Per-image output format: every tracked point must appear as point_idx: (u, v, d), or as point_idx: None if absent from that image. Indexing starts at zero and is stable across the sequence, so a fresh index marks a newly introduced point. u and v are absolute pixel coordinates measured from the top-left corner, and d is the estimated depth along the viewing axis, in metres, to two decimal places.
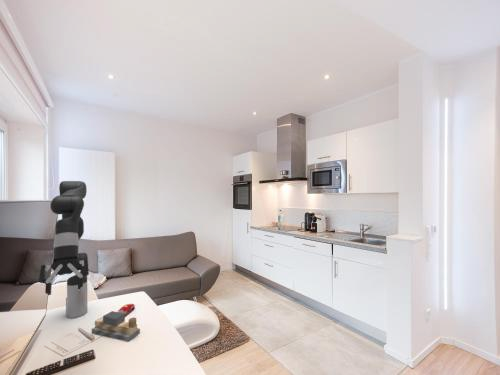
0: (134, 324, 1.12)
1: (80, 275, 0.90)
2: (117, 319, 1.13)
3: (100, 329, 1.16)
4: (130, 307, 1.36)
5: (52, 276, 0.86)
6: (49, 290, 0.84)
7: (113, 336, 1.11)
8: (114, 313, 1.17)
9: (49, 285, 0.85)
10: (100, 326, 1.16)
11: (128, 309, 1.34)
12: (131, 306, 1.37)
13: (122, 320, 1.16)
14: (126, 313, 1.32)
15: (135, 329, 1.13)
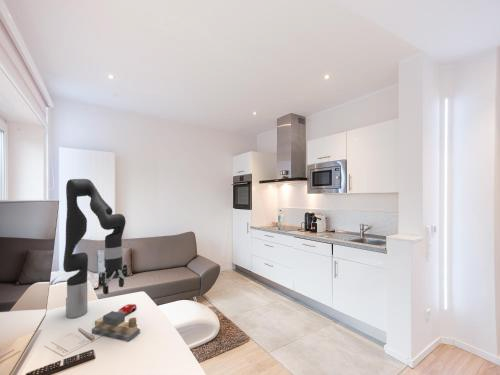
0: (134, 324, 1.12)
1: (123, 277, 1.20)
2: (117, 319, 1.13)
3: (100, 329, 1.16)
4: (130, 308, 1.35)
5: (109, 280, 1.13)
6: (107, 290, 1.12)
7: (113, 336, 1.11)
8: (114, 313, 1.17)
9: (107, 287, 1.12)
10: (100, 326, 1.16)
11: (128, 310, 1.33)
12: (132, 307, 1.36)
13: (122, 320, 1.16)
14: (125, 314, 1.31)
15: (135, 329, 1.13)
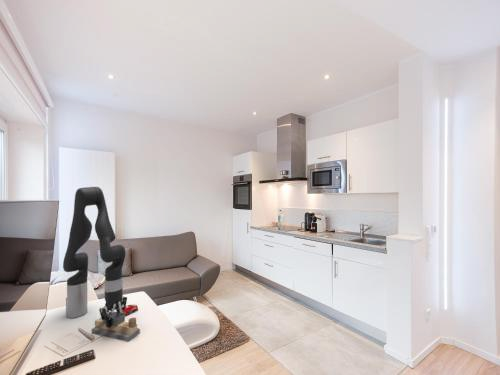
0: (134, 324, 1.12)
1: (121, 311, 1.19)
2: (117, 319, 1.13)
3: (100, 329, 1.16)
4: (130, 309, 1.34)
5: (111, 313, 1.13)
6: (110, 324, 1.13)
7: (113, 336, 1.11)
8: (114, 313, 1.17)
9: (110, 320, 1.13)
10: (100, 326, 1.16)
11: (127, 310, 1.33)
12: (132, 307, 1.35)
13: (122, 320, 1.16)
14: None
15: (135, 329, 1.13)
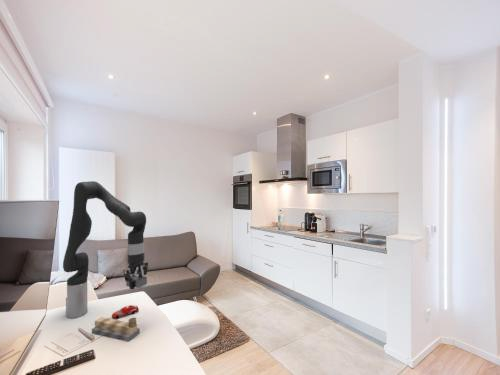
0: (134, 324, 1.12)
1: (143, 275, 1.23)
2: (140, 281, 1.18)
3: (100, 329, 1.16)
4: (129, 310, 1.33)
5: (134, 276, 1.18)
6: (133, 286, 1.18)
7: (113, 336, 1.11)
8: (136, 277, 1.22)
9: None
10: (100, 326, 1.16)
11: (126, 311, 1.32)
12: (132, 309, 1.34)
13: (144, 283, 1.20)
14: (122, 315, 1.30)
15: (135, 329, 1.13)
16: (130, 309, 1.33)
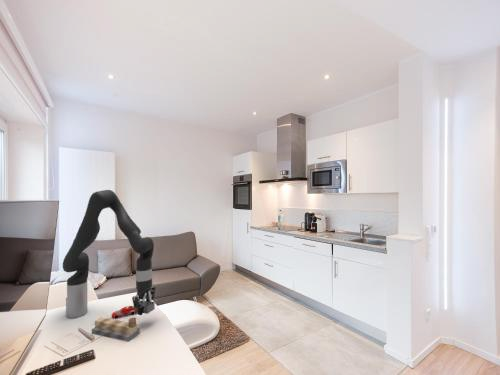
0: (134, 324, 1.12)
1: (150, 300, 1.25)
2: (148, 307, 1.20)
3: (100, 329, 1.16)
4: (128, 310, 1.32)
5: (143, 302, 1.20)
6: (142, 312, 1.20)
7: (113, 336, 1.11)
8: (144, 302, 1.24)
9: (142, 308, 1.20)
10: (100, 326, 1.16)
11: (125, 311, 1.31)
12: (131, 310, 1.33)
13: (152, 308, 1.22)
14: (121, 315, 1.30)
15: (135, 329, 1.13)
16: (129, 310, 1.32)
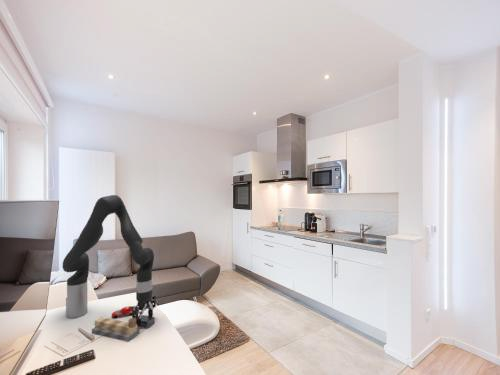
0: (134, 324, 1.12)
1: (152, 308, 1.26)
2: (148, 323, 1.20)
3: (100, 329, 1.16)
4: (128, 311, 1.32)
5: (142, 313, 1.19)
6: (140, 323, 1.19)
7: (113, 336, 1.11)
8: (144, 317, 1.24)
9: (140, 319, 1.19)
10: (100, 326, 1.16)
11: (124, 312, 1.31)
12: (130, 310, 1.32)
13: (152, 323, 1.22)
14: (120, 315, 1.30)
15: (135, 329, 1.13)
16: (129, 310, 1.32)
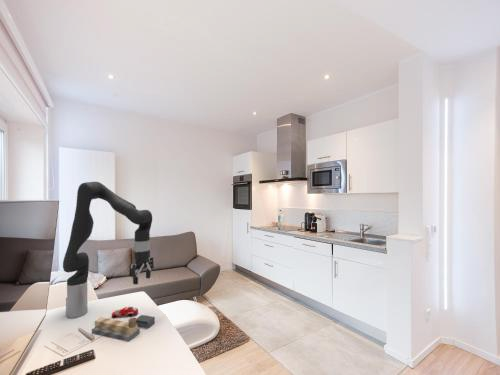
0: (134, 324, 1.12)
1: (150, 269, 1.28)
2: (149, 323, 1.20)
3: (100, 329, 1.16)
4: (126, 312, 1.31)
5: (139, 272, 1.21)
6: (137, 281, 1.20)
7: (113, 336, 1.11)
8: (144, 317, 1.24)
9: (137, 278, 1.20)
10: (100, 326, 1.16)
11: (123, 312, 1.30)
12: (129, 311, 1.31)
13: (152, 323, 1.22)
14: (119, 315, 1.30)
15: (135, 329, 1.13)
16: (127, 311, 1.31)
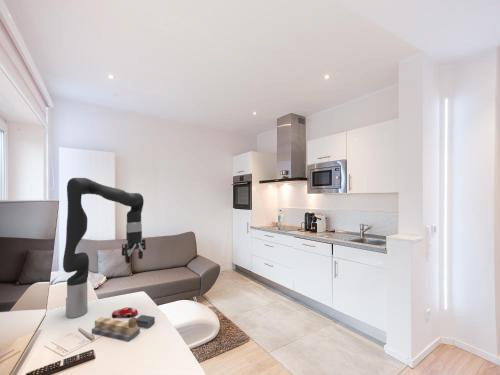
0: (134, 324, 1.12)
1: (142, 250, 1.34)
2: (149, 323, 1.20)
3: (100, 329, 1.16)
4: (125, 312, 1.30)
5: (131, 251, 1.26)
6: (129, 260, 1.26)
7: (113, 336, 1.11)
8: (144, 317, 1.24)
9: (129, 257, 1.26)
10: (100, 326, 1.16)
11: (122, 313, 1.30)
12: (127, 312, 1.30)
13: (152, 323, 1.22)
14: (118, 315, 1.30)
15: (135, 329, 1.13)
16: (126, 312, 1.30)
